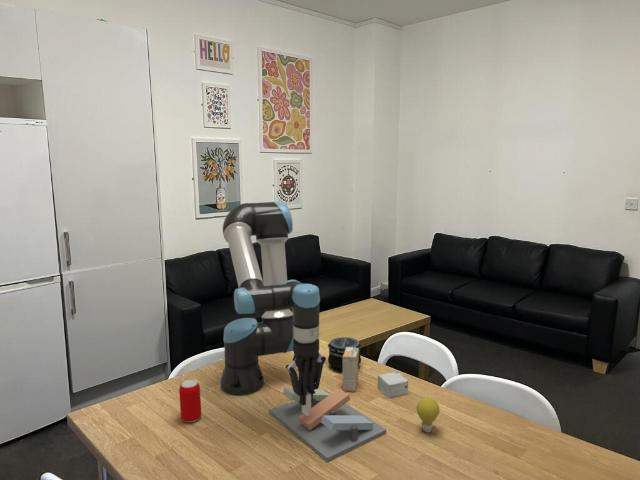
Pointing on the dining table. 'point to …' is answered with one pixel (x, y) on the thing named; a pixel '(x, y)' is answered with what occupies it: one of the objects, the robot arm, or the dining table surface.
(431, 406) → the light bulb
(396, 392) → the small box
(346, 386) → the supplement box
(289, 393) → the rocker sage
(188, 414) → the beverage can
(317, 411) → the rocker terracotta
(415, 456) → the dining table surface
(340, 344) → the container
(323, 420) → the rocker blue
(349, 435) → the board
